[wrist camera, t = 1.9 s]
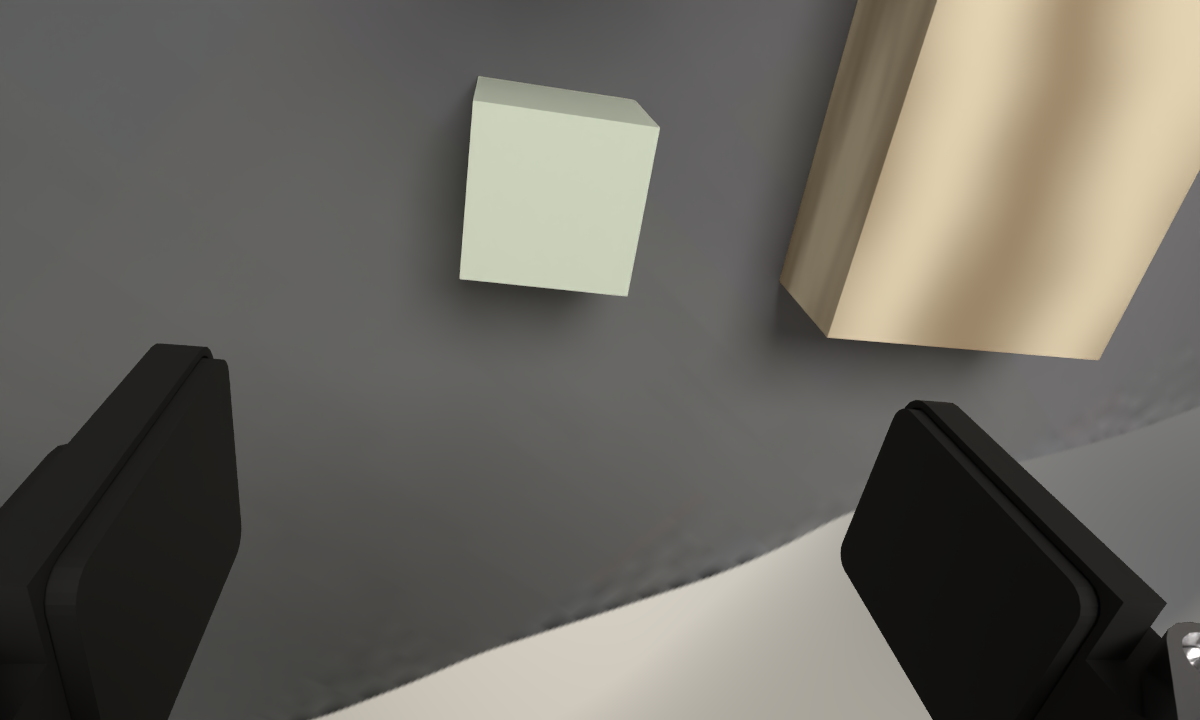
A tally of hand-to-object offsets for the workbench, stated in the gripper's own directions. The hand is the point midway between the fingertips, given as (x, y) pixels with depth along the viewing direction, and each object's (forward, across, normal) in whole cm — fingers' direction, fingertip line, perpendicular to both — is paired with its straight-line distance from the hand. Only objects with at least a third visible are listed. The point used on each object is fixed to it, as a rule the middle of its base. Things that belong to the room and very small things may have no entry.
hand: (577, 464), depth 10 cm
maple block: (+16, -15, -4) cm, 22 cm away
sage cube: (+16, -1, 0) cm, 16 cm away
